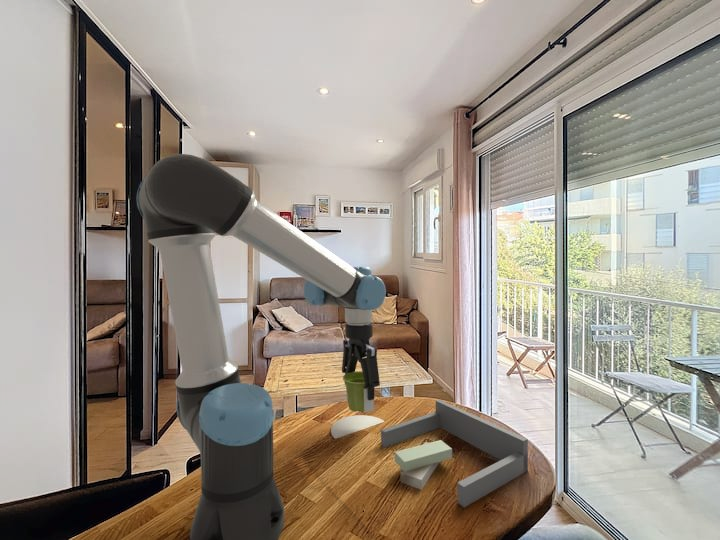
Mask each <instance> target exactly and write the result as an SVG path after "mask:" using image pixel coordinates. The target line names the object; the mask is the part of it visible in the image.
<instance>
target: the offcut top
mask: <svg viewBox="0 0 720 540" xmlns="http://www.w3.org/2000/svg"><path fill="white" fill-rule="evenodd" d="M452 458H453V448H452V447H450V446H449V445H448V444H447V443H446V442H444V441H443V440H441V439H439V440H436V441H431V442H428V443H427V444H424V443H423V444H419V445H417V446H416V445H415V446H413V447H408V448H405V449H401V450H397V451H394V462H395V463H396V464H397V465H398V466H399V467H400V468H401V470H403V471H404V472H405V471H409V470H412V469H416V468H419V467H422V466H426V465H429V464H433V463H436V462H439V463H440V462H442V461H446V460H450V459H452Z"/></svg>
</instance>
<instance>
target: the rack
mask: <svg viewBox="0 0 720 540" xmlns="http://www.w3.org/2000/svg"><path fill="white" fill-rule="evenodd" d="M436 429H442V430H444V431H446V432H448V433H449V434H451V435H453V436H455V437H457V438H459V439H461V440H462V441H464V442H465V443H468V444H470V445H471V446H474V447H475V448H477V449H479V450H481V451H483V452H485V453H487V454H488V455H490V456H492V457H494V458H496V459H497V460H498V461H497V462H495V463H493V464H491V465H489V466H486V467H484V468H483V469H481V470H480V471H478V472H475V473H473V474H471V475H469V476H466V478H464V479H461V480H460V481H457V483H456V484H457V488H456V489H457V491H456V492H457V493H456V494H457V497H456V498H457V504H458V505H460V506H461V507H463V508H466V507H468V506H469V505H471V504H473V503H475V502H477V501H479V500H480V499H482V498H483V497H486V495H488V494H491V492H493V491H496V490H497V489H499V488H500V487H502V486H504V485H506V484H507V483H509V482H510V481H512V480H515V479H517V478H518V477H519V476H521V475H523V474H525V473H526V472H528V471H529V457H528V455H529V448H528V447H529V446H528V445H529V441H528V440H529V439H528V438H527V437H524V436H523V435H520V434H517V433H515V432H513V431H510V430H508V429H507V428H504V427H502V426H499V425H498V424H495V423H493V422H490V421H488V420H486V419H484V418H482V417H480V416H477V415H475V414H473V413H470V412H468V411H466V410H464V409H463V408H460V407H457V406H454V405H453V404H451V403H448V402H446V401H444V400H441V399H436V400H435V411H434V412H431V413H427V414H425V415H421V416H418V417H416V418H412V419H409V420H406V421H403V422H400V423H397V424H395V425H391V426H388V427H385V428H382V429H381V430H380V445H381V446H382V447H383V448H388V447H390V446H394V445H396V444H398V443H401V442H403V441H407V440H409V439H412V438H414V437H415V438H416V437H418V436H420V435H423V434H425V433H428V432H431V431H433V430H436Z"/></svg>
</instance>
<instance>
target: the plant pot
mask: <svg viewBox="0 0 720 540" xmlns="http://www.w3.org/2000/svg"><path fill="white" fill-rule="evenodd" d="M342 380H343V382H344V385H345V389H346V398H347V397H348V401H347V403H348V409H349V410H350V411H352V412H355V413H357V412H359V413H365V412H364V387H365V386H366V385H365V381H364V376H363V372H362V370H360V371H358V370H357V371H355V372H350V373H347V374H345V373H344V375H343V376H342Z"/></svg>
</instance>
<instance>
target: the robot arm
mask: <svg viewBox="0 0 720 540" xmlns="http://www.w3.org/2000/svg"><path fill="white" fill-rule="evenodd" d="M136 206H137V209H138V211H139V213H140V216H141V217H142V219H143V221H144V226H145V231H146V235H147V241H148V243H149V244H151V245H152V246H154V247H155V248H157V249H158V251H159V254H160V259H161V264H162V269H163V274H164V275H163V276H164V280H165V285H166V290H167V291H166V292H167V295H168V296H167V297H168V301H169V307H170V312H171V317H172V322H173V323H172V324H173V328H174V333H175V334H174V335H175V340H176V344H177V349H178V355H179V360H180V366H181V372H180V373H179V375H178V377H177V378H176V379H175V381H174V383H175V389H176V392H177V393H176V394H177V400H176V414H177V418H178V422H179V423H180V425H181V426H182V428H183V429H184V430H186V431H187V433H188V434H189V436H190V438H191V439H192V441H193V443H194V444H195V446H196V447H197V449H198V451H199V454H200V455H199V456H200V479H201V480H200V481H201V483H200V484H201V485H200V486H201V487H200V488H201V494H200V497H199V500H198V503H197V506H196V509H195V513H194V516H193V519H192V523H191V526H190V533H189V540H278V539H279V537H280V536H281V535H282V532H283V530H284V527H285V526H284V525H285V506H284V502H283V498H282V495H281V494H280V490H279V488H278V486H277V482H276V480H275V476H274V418H275V415H274V414H275V413H274V408H273V401H272V397H271V395H270V393H269V391H267V390H266V389H265V388H263V387H262V386H260V385H257V384H249V383H247V382H245V383H244V382H242V381H241V375H240V370H239V366H238V363H236V362H234V361H233V360H231V359H230V357H229V354H228V353H229V352H228V348H227V342H226V336H225V329H224V324H223V319H222V313H221V307H220V301H219V296H218V295H219V294H218V288H217V285H216V284H217V283H216V282H217V281H216V278H215V271H214V265H213V260H212V254H211V247H210V243H211V241H213V239H214V238H215V237H216V235H217V234H218V235H219V236H221V237H229V236H233V237H235V238H236V239H238V240H239V241H242V242H243V243H245V244H247V246H250V247H251V248H252V249H255V250H256V251H258V252H259V253H261V254H263V255H264V256H266V257H268V258H269V259H271V260H273V261H275V262H277V264H280V265H281V266H283V267H285V268H286V269H288V270H290V271H292V272H293V273H295V274H296V275H298V276H300V278H301V277H302V278H303V279H304V280H305V282H304V285H303V295H304V299H305V301H306V302H307V303H308V304H309V305H310V306H321V307H322V306H327V305H329V306H335V307H341V308H342V307H343V308H344V321H345V323H346V324H345V326H344V329H345V330H344V331H345V332H344V333H345V334H344V335H345V338H346V339H343V341H342V344H343V349H342V364H341V372H342V374H344V375H345V374H347V373H350V372H356V368H357V364H358V362H359V364H360V369H361V371H362V372H363V376H364V381H365V385H366V386H365V387H364V412H363V413H366V414H367V413H369V412H373V411H375V388H377V387H380V385H381V382H380V374H379V373H380V372H379V367H378V357H377V353H378V349H377V347H372V346H371V344H370V339H371V338H372V337H373V336H374V335H373V334H374V333H373V332H374V330H373V328H374V327H373V326H374V325H373V323H372V322H373V311H375V310H377V309H379V308H380V307H382V305H383V304H384V302H385V298H386V294H387V289H386V285H385V283H384V281H383V280H382V279H381V278H380V277H378V276H374V275H373V274H372V269H371V268H370V267H369V266H351V265H350V264H349V263H347V262H346V261H345V260H343V259H341V258H340V257H339V256H337V255H336V254H334V253H333V252H331V251H330V250H329V249H327V248H326V247H324V246H323V245H322V244H320V243H319V242H317V241H316V240H314V239H313V238H312V237H310V236H309V235H308V234H306V233H305V232H303V231H302V230H301V229H298V227H296V226H294V225H293V224H291V223H290V222H289V221H288V220H286V219H284V218H283V217H281V216H280V215H279V214H277V213H276V212H275V211H273V210H271V209H270V208H269V207H267V206H266V205H265V204H263V203H261V202H260V201H259V200H258V199H256V195H255V191H254V190H253V189H252V188H250V187H249V186H248V185H246V184H245V183H243V182H242V181H241V180H239V179H238V178H236V177H235V176H234V175H232V174H230V173H229V172H228V171H226V170H225V169H223V168H221V167H219V166H218V165H216V164H215V163H213V162H211V161H209V160H207V159H205V158H203V157H199V156H196V155H194V154H187V153H176V154H172V155H168V156H167V155H166V156H165V157H163V158H161V159H159V160H158V161H157V162H156V163H155V164H154V165H153V166H152V167H151V168H150V170H149V172H148V174H147V175H146V176H145V177H144V178H143V179H142V181H141V182H140V183H139V186H138V188H137V193H136ZM346 401H347V402H348V397H347V396H346Z"/></svg>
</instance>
